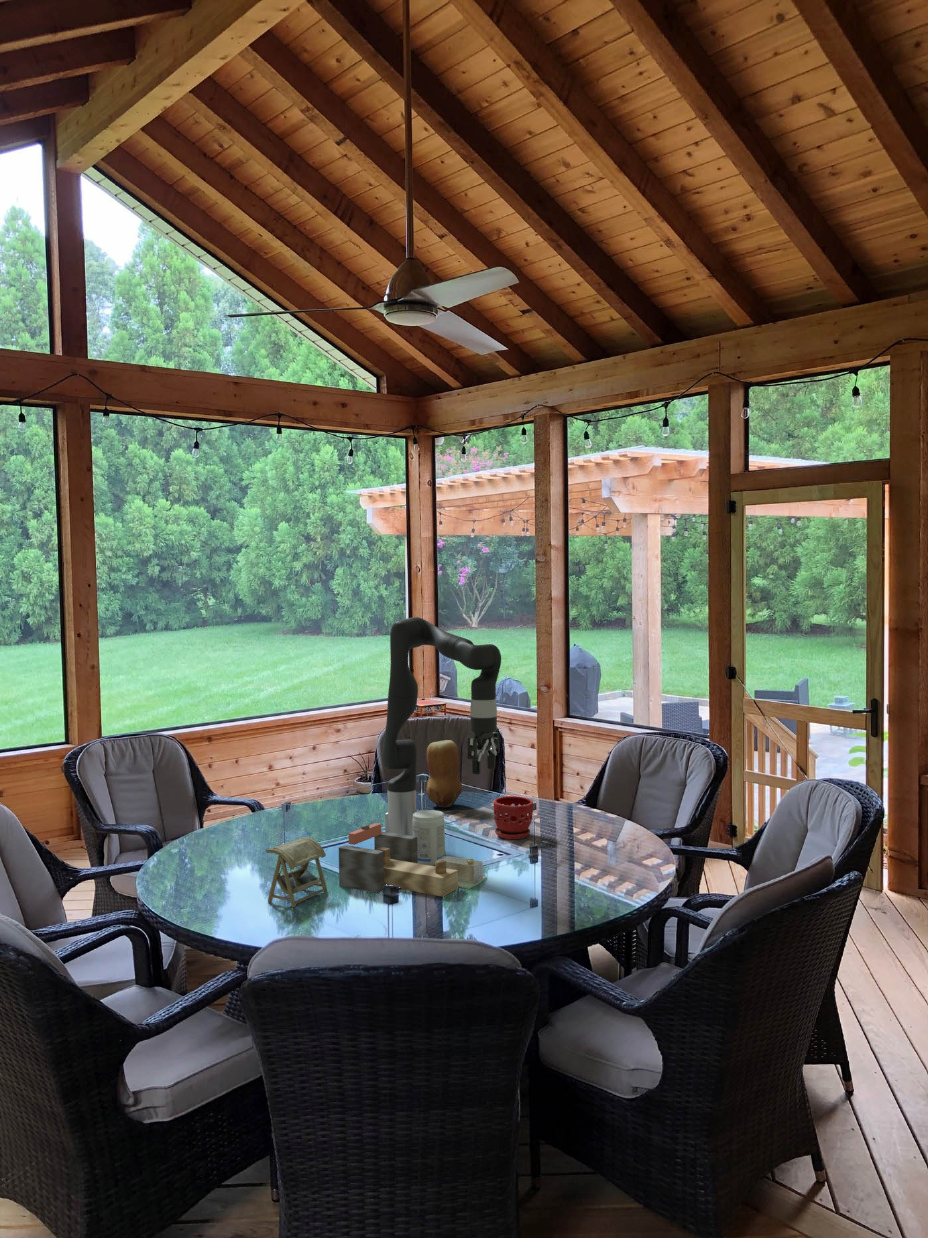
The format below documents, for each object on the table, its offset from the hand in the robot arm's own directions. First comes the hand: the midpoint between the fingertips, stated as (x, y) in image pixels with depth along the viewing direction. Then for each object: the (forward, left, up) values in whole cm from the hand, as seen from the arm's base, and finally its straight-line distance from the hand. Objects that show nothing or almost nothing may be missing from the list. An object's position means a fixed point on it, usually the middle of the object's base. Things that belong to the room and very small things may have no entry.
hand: (484, 771), depth 273 cm
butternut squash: (-53, +66, -30) cm, 90 cm away
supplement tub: (-21, +4, -30) cm, 37 cm away
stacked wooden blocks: (-16, -17, -30) cm, 38 cm away
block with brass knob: (-4, -7, -29) cm, 31 cm away
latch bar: (-29, -17, -19) cm, 39 cm away
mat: (-3, -7, -30) cm, 31 cm away
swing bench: (-35, -40, -30) cm, 61 cm away
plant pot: (-12, +42, -30) cm, 53 cm away
